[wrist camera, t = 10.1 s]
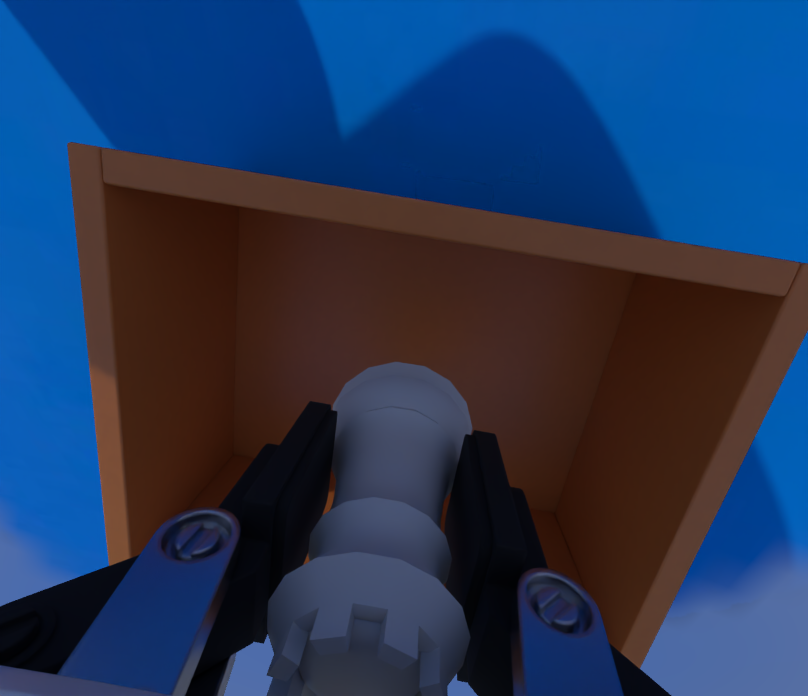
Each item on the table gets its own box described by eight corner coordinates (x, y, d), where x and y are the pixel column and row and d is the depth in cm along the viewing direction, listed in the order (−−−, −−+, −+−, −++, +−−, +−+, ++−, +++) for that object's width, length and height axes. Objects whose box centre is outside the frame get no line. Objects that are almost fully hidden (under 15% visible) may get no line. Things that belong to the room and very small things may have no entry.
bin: (223, 457, 21) (109, 585, 13) (228, 175, 16) (65, 141, 9) (562, 519, 20) (632, 685, 13) (658, 246, 16) (840, 268, 9)
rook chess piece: (406, 501, 14) (372, 838, 6) (307, 422, 13) (137, 692, 6) (500, 419, 13) (594, 715, 5) (395, 327, 12) (329, 511, 5)
